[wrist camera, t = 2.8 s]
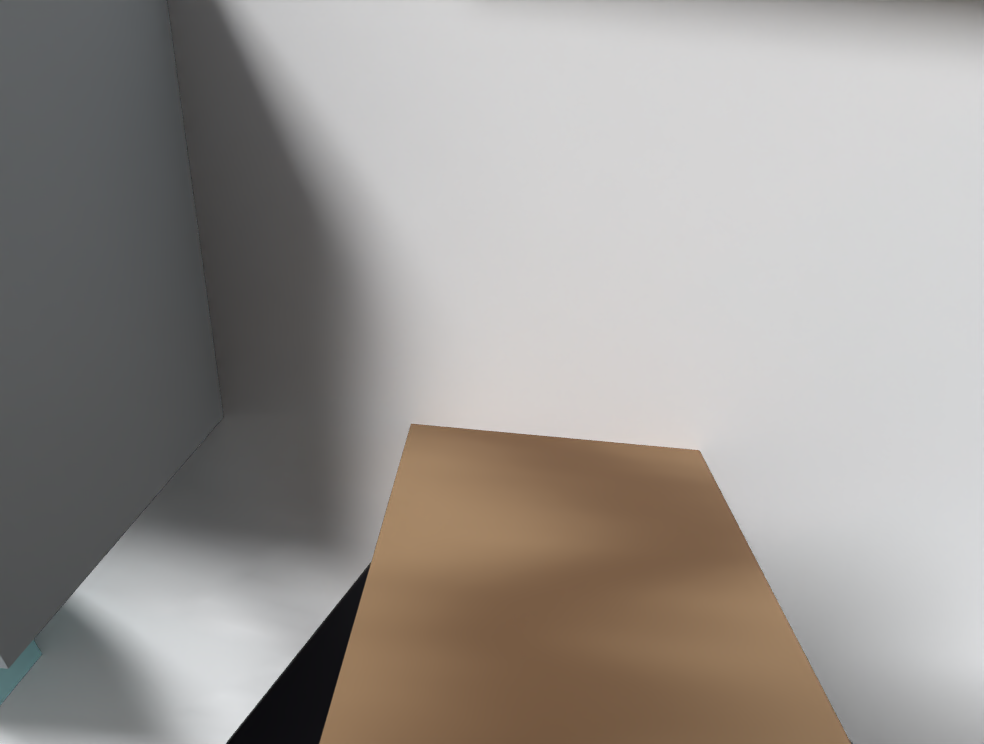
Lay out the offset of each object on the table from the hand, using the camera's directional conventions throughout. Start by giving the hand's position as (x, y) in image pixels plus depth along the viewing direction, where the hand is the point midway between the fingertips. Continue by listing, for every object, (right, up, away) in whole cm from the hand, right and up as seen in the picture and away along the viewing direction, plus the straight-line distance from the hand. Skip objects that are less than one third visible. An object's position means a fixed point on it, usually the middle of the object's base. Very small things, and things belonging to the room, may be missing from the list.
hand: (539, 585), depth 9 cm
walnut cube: (0, +1, +1) cm, 1 cm away
